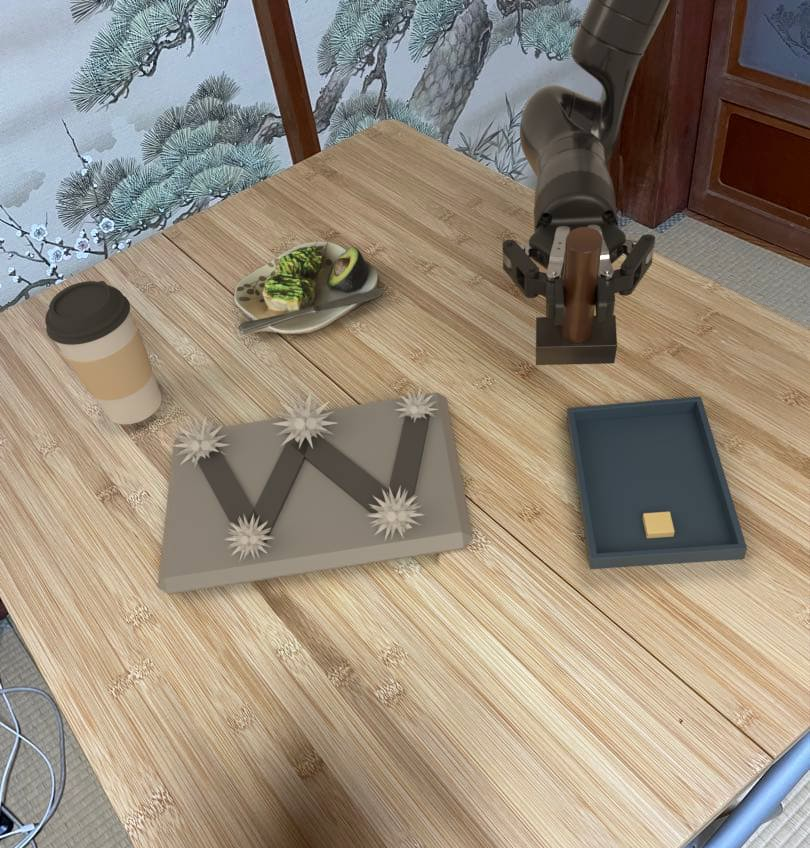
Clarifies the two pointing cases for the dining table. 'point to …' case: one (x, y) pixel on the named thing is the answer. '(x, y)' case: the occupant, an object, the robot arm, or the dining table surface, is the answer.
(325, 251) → the avocado toast plate
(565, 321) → the wooden peg on stand
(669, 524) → the crumb
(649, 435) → the tray
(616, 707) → the dining table surface
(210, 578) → the constellation board
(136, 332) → the coffee cup
